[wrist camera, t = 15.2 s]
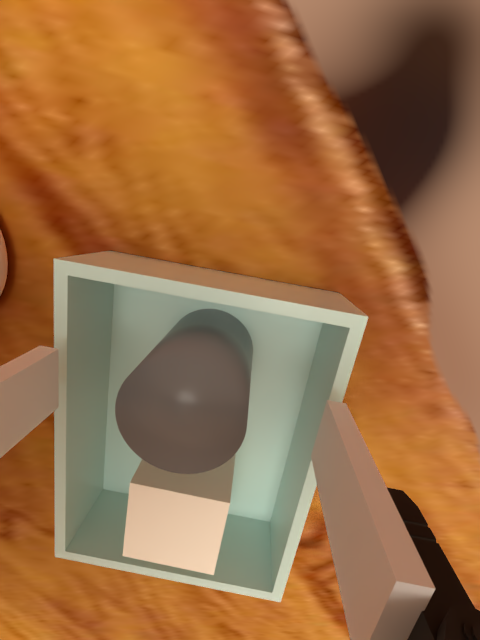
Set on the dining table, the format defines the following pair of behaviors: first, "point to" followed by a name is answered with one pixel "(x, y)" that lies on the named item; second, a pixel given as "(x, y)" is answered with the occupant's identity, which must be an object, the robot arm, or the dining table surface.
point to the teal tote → (263, 413)
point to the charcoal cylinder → (190, 395)
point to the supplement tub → (3, 263)
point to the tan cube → (178, 516)
